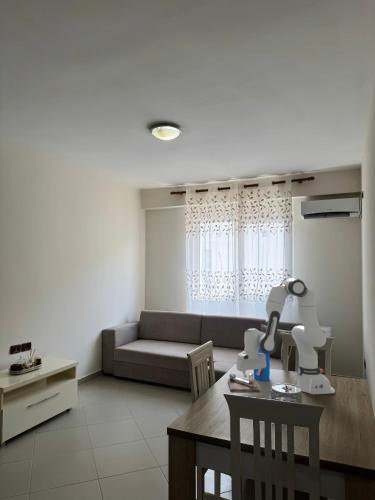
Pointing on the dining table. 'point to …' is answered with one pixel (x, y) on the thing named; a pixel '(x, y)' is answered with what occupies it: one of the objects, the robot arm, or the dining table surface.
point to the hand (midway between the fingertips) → (251, 376)
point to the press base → (243, 386)
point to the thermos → (263, 369)
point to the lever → (250, 382)
